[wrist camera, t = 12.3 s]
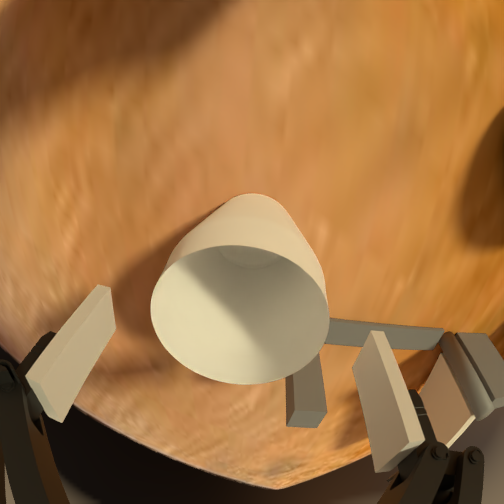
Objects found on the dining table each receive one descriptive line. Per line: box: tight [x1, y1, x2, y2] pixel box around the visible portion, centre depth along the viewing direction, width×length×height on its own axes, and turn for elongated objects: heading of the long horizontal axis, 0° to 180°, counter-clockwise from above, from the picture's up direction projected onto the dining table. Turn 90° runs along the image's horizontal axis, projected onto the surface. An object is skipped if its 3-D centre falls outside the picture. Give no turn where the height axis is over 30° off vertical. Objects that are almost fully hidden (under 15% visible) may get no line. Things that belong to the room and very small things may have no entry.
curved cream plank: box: [419, 352, 475, 448], centre depth 28 cm, size 16×2×10 cm, turn 2°
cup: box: [151, 193, 330, 385], centre depth 19 cm, size 9×9×12 cm
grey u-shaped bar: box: [285, 318, 504, 428], centre depth 23 cm, size 3×28×12 cm, turn 81°
